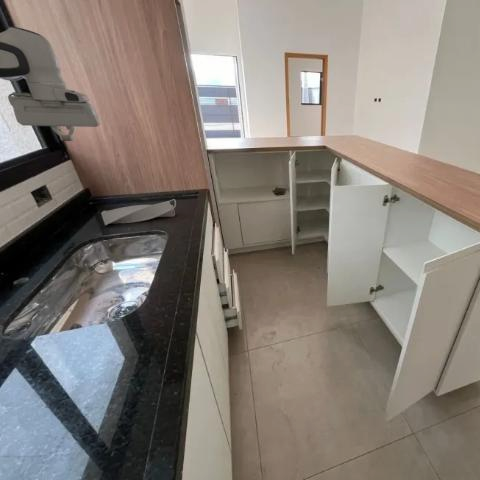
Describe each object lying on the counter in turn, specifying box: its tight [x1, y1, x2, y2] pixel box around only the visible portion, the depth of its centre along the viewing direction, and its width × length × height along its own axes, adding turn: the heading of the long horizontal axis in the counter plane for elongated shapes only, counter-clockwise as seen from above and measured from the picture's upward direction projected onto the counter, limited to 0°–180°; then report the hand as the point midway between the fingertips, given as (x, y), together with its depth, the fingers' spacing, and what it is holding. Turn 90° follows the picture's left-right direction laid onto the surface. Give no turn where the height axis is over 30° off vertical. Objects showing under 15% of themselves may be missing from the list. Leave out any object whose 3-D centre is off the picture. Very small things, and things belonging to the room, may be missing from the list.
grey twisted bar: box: [100, 198, 177, 226], centre depth 118 cm, size 8×8×28 cm
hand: (67, 140), depth 89 cm, fingers closed
